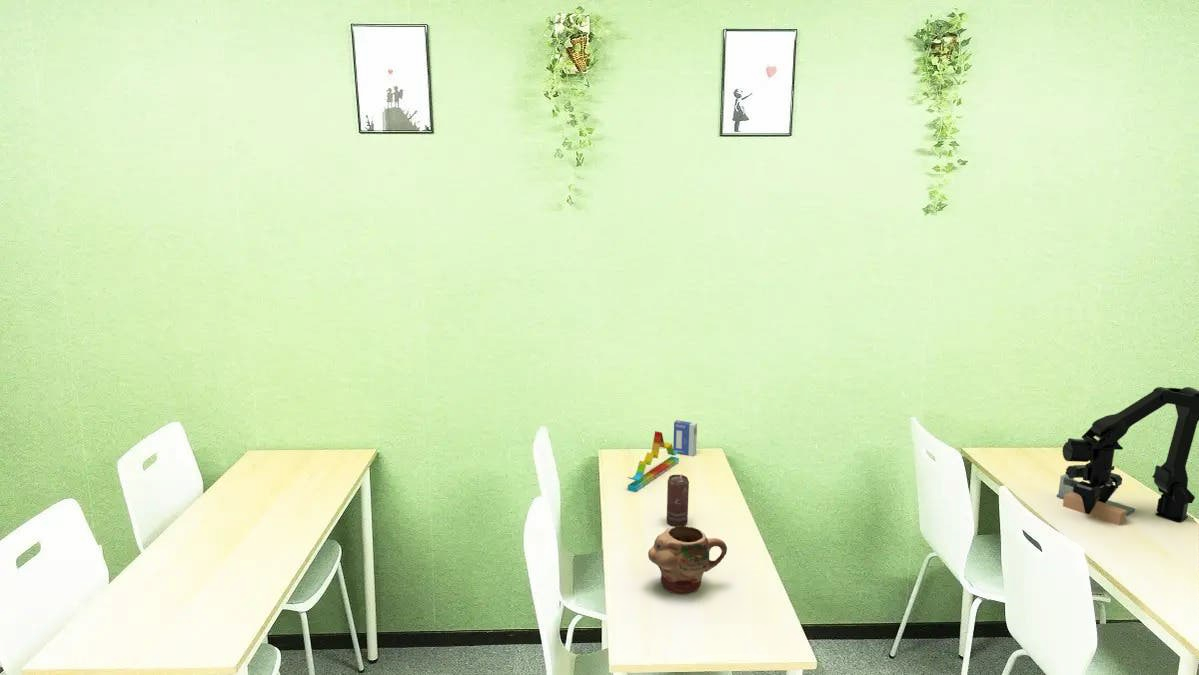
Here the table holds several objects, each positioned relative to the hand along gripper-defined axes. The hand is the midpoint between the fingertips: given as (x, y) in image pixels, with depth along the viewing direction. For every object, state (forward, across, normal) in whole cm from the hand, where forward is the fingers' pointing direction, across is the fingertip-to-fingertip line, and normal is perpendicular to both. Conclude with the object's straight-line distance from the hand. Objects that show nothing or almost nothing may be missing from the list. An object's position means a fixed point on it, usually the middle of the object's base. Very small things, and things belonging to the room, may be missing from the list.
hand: (1093, 510), depth 246 cm
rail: (+1, 0, 0) cm, 1 cm away
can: (+1, +108, -68) cm, 127 cm away
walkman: (+1, +68, -109) cm, 128 cm away
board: (+1, -8, -3) cm, 9 cm away
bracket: (+1, -8, -9) cm, 12 cm away
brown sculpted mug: (+1, +128, -40) cm, 134 cm away
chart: (+2, +90, -99) cm, 134 cm away
